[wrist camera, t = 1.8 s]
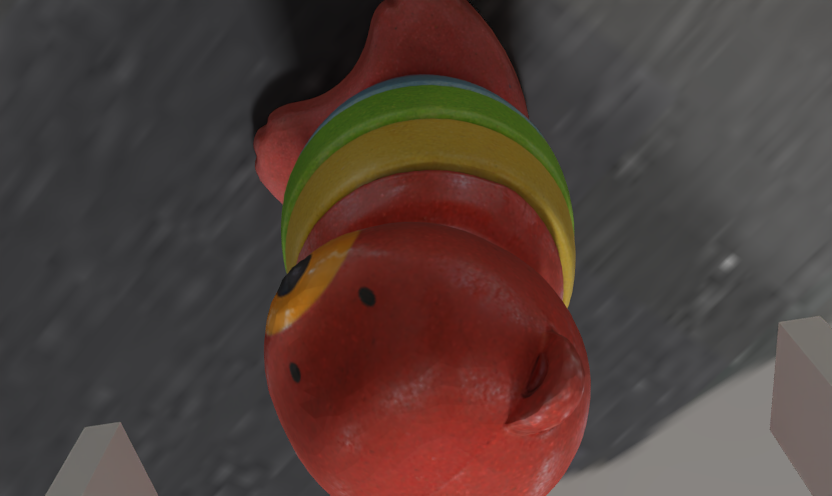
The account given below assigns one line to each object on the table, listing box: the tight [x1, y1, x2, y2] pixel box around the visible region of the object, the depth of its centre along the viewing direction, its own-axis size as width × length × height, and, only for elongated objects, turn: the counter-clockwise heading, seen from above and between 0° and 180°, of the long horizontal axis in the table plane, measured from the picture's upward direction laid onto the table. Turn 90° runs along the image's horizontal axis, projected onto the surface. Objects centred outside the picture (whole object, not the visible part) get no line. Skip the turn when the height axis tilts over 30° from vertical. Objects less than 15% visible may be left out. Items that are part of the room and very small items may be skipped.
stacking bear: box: [254, 0, 591, 496], centre depth 21 cm, size 11×10×18 cm
